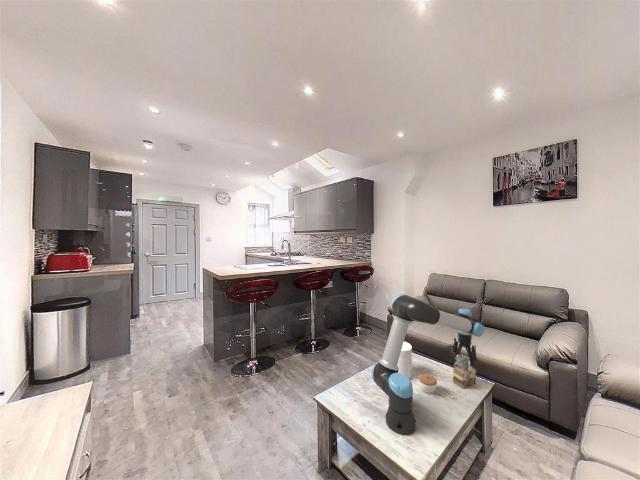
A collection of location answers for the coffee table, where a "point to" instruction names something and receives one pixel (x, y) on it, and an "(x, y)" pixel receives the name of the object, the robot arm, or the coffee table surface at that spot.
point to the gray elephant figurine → (462, 362)
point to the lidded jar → (427, 383)
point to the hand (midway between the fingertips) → (464, 367)
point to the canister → (405, 360)
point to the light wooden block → (464, 373)
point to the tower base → (464, 382)
